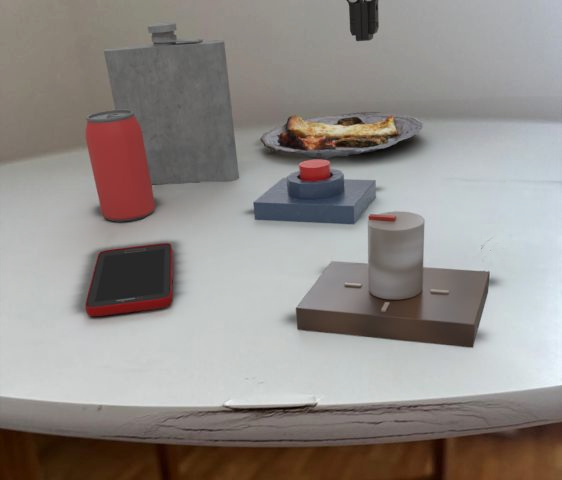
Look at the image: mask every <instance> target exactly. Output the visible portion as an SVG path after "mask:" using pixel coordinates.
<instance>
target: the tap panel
mask: <svg viewBox="0 0 562 480" xmlns="http://www.w3.org/2000/svg"><path fill="white" fill-rule="evenodd" d="M490 274H491V271H489V270H488V271H486V270H471V269H456V268H453V269H452V268H444V267H443V268H442V267H441V268H440V267H428V266H427V267H426V266H423V289H422V291H421V292H420V293H419V294H418V295H416V296H414V297H411V298H407V299H400V300H389V299H383V298H379V297H376V296H374V295H372V294H371V293H370V292H369V287H368V262H367V263H365V262H353V261H352V262H350V261H336V260H332V261H330V263H329V264H328V265H327V266H326V268H325V269H324V271H322V273H321V275H320V276H319V277H318V279H317V280H316V281H315V282H314V284H313V285H312V287H310V289H309V290H308V291H307V293H306V294H305V295H304V297H303V298H302V299H301V300H300V301H299V303H298V305H296V307H295V316H296V318H295V319H296V329H297V330H298V331H307V332H317V333H326V334H336V335H345V336H356V337H364V338H374V339H385V340H395V341H403V342H413V343H422V344H423V343H424V344H433V345H444V346H453V347H463V348H472V349H473V348H474V345H475V342H476V338H477V334H478V331H479V328H480V324H481V320H482V317H483V313H484V310H485V305H486V301H487V298H488V295H489V287H490Z"/></svg>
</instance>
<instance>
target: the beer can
mask: <svg viewBox="0 0 562 480" xmlns="http://www.w3.org/2000/svg"><path fill="white" fill-rule="evenodd" d="M85 120H86V126H85V142H86V143H85V144H86V147H87V151H88V152H87V153H88V156H89V160H90V166H91V170H92V175H93V179H94V184H95V189H96V192H97V197H98V202H99V206H100V211H101V215H102V216H103V217H104V218H105V219H106V220H108V221H111V222H120V223H121V222H123V223H124V221H125V222H132V220H133V221H138V220H141V219H144V218H146V217H148V216H150V215H151V214H152V213H153V212H154V211H155V207H156V203H155V197H154V192H153V185H151V180H150V174H149V169H148V163H147V157H146V151H145V146H144V140H143V134H142V130H141V127H140V125H139V123H138V121H137V119H136V118H135V116H134V112H133V111H132V110H124V109H121V110H115V109H109V110H101V111H98V112H93V113H90V114H89V115H87V116H86V118H85ZM137 219H138V220H137Z"/></svg>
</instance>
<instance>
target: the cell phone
mask: <svg viewBox="0 0 562 480" xmlns="http://www.w3.org/2000/svg"><path fill="white" fill-rule="evenodd" d="M173 275H174V251H173V246H172V244H171V243H170V242H161V243H154V244H153V243H152V244H146V245H145V244H144V245H138V246H129V247H121V248H112V249H105V250H101V251H99V253H98V254H97V257H96V261H95V265H94V269H93V272H92V277H91V279H90V280H91V281H90V285H89V288H88V292H87V296H86V300H85V306H84V307H85V311H86V314H87V315H88V316H89V317H103V316H109V315H110V316H111V315H116V314H125V313H126V314H127V313H133V312H141V311H148V310H156V309H162V308H168V307H169V306H170V305H171V304H172V303H173V301H174V293H173V284H174V276H173Z"/></svg>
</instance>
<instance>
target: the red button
mask: <svg viewBox="0 0 562 480" xmlns="http://www.w3.org/2000/svg"><path fill="white" fill-rule="evenodd" d="M330 168H331V162H330V161H329V160H327V159H322V158H317V159H315V158H314V159H307V160H304V161H301V162H300V163H299V164H298V171H299V173H300V180H304V181H317V180H324V179H327V178H330V177H331V173H330Z"/></svg>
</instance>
